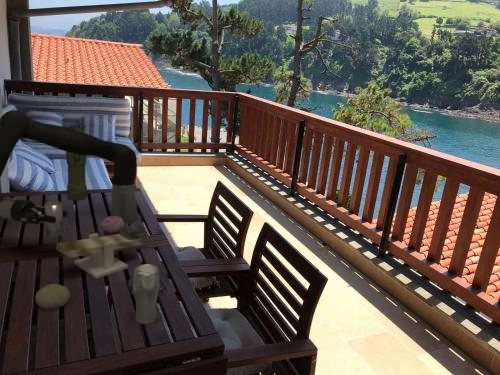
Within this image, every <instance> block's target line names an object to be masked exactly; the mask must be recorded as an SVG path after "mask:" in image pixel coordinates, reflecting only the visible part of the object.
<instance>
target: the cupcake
mask: <svg viewBox="0 0 500 375" xmlns="http://www.w3.org/2000/svg"><path fill="white" fill-rule="evenodd" d="M125 226H126V224H124V221H123V219H122V218H120V217H118V216H106V217H105V218H104V219H103V220H102V221H101V222H100V229H101V231H103V232H102V233H103V236H110V235H117V234H120V227H125Z"/></svg>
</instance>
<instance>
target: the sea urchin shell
mask: <svg viewBox="0 0 500 375" xmlns="http://www.w3.org/2000/svg"><path fill="white" fill-rule="evenodd" d="M70 296H71V294H70V290H69V289H68V287H66V286H65V285H61V284H58V283H57V284H56V283H52V284H51V283H50V284H48V285H45V286H43V287H41V289H39V290H38V291H37V292H36V294H35V297H34V298H35V299H34V300H35V303H36V304H37V305H38V306H39V307H40V308H42V309H45V310H47V309H48V310H49V309H50V310H52V309H58V308H60V307H63V306H65V305H66V303H68V301H69V300H70Z"/></svg>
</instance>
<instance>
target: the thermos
mask: <svg viewBox="0 0 500 375" xmlns="http://www.w3.org/2000/svg"><path fill="white" fill-rule="evenodd" d="M68 128H71V129H74V130H78V131H81V132H83V133H85V132H84V129H83V127H82V126H80V125H71V126H69V127H68ZM65 157H66V159H65V160H66V161H65V162H66V164H67V184H66V185H67V186H66V191H67V192H66V193H67V199H68V200H69V201H74V202H75V201H83V200H87V193H88V186H87V184H86V183H87V182H86V163H87V155H78V154H74V153H70V152H66V151H65Z"/></svg>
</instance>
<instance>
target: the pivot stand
mask: <svg viewBox="0 0 500 375" xmlns="http://www.w3.org/2000/svg"><path fill="white" fill-rule="evenodd" d="M97 237H99V233H98V232H95V233H92V234H89V235H88V239H90V238H97ZM114 251H115V250H114V243H113V242H110V243H106V244H104V252H98V253H93V254H88V256H87V257H84V258H81V259H76V260H74V264H75V265H76V266H77V267H79V269H80V268H81V269H82V270H83V271H85V272H86V273H88V274H89V275H90V274H91V275H90V276H92V277H93V278H94V279H99V278H102V277H104V276H108V275H112V274H113V273H118V272H120V271H124V270H126V269H129V265H128V264H126V263H125V262H124V261H122V260H120V259H118V258H117V257H115V254H114Z"/></svg>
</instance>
